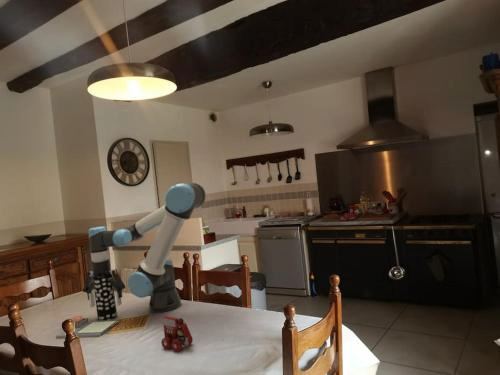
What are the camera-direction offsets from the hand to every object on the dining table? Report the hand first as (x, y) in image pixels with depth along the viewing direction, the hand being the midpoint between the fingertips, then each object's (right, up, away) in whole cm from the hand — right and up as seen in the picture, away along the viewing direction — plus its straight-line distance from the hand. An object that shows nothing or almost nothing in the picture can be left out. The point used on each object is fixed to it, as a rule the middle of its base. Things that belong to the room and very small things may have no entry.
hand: (106, 305), depth 170 cm
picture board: (-3, -6, -13) cm, 14 cm away
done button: (-9, -5, -8) cm, 13 cm away
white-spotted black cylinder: (+1, -6, 0) cm, 6 cm away
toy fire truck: (+41, -2, -40) cm, 57 cm away
